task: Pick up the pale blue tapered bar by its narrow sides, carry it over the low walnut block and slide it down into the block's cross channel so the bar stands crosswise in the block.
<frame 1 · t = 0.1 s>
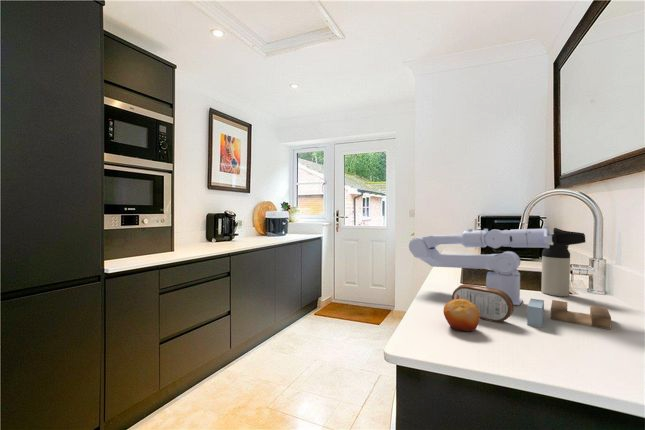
hand: (584, 237, 90), 22 cm above the counter, tool horizontal, fingers open, 7 cm apart
slot block: (578, 318, 85), on the counter
pale blue tapered bar: (535, 322, 83), on the counter
fruit: (460, 329, 77), on the counter
tin: (480, 318, 86), on the counter
travel mug: (555, 294, 112), on the counter
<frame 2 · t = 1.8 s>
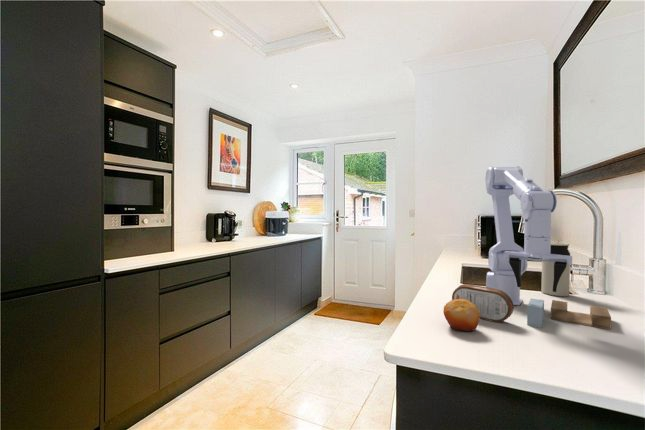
hand: (536, 288, 83), 9 cm above the counter, tool pointing down, fingers open, 7 cm apart
nothing on the counter moved.
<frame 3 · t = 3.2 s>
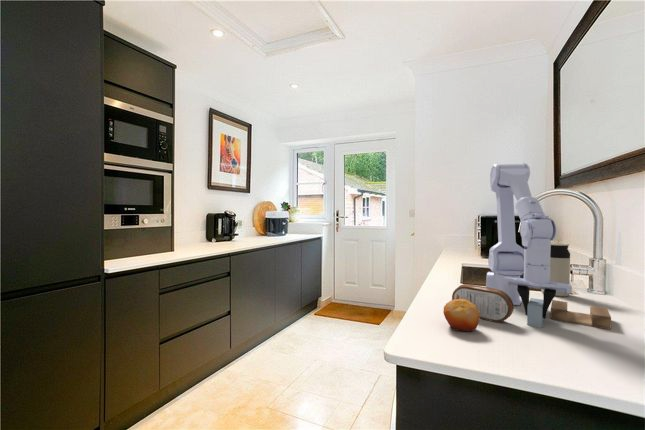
hand: (535, 316, 83), 1 cm above the counter, tool pointing down, fingers closed on pale blue tapered bar, 3 cm apart
pale blue tapered bar: (535, 321, 83), on the counter, touching gripper
everything else where it was.
when the fingers open (4 cm above the counter, at t = 6.7 s): pale blue tapered bar stays where it is, resting on slot block.
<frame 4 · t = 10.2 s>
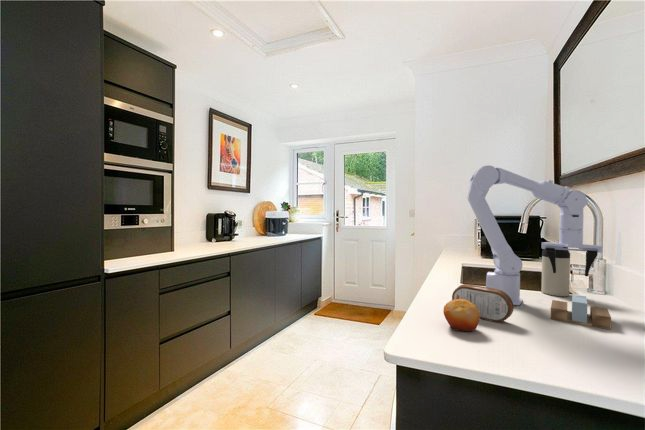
hand: (570, 274, 97), 10 cm above the counter, tool pointing down, fingers open, 7 cm apart
pale blue tapered bar: (579, 317, 85), resting on slot block
everything else where it was.
at the end: pale blue tapered bar inside the target area on the slot block (0.3 cm from its centre), point 0.5 cm above the slot block's base; pale blue tapered bar tilted 0°; the gripper is holding nothing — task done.
